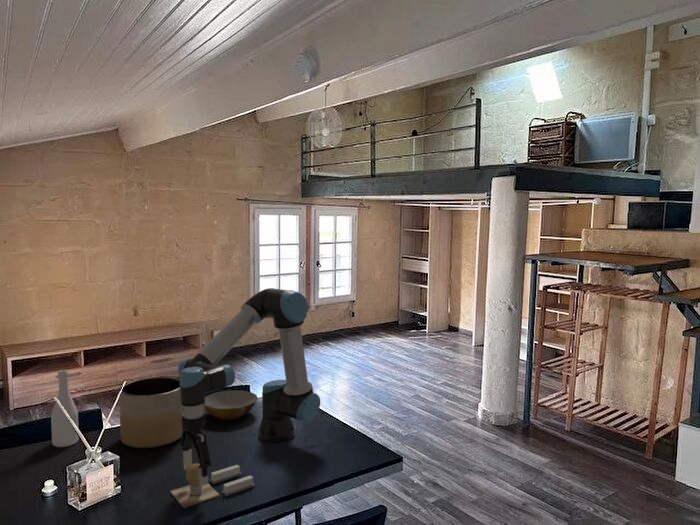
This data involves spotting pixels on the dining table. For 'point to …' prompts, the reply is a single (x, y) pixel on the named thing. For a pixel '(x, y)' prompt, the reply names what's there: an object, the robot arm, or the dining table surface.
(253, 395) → the bowl
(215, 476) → the socket rails
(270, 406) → the robot arm
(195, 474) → the light bulb
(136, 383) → the planter
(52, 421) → the wine bottle
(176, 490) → the square wooden board
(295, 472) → the dining table surface
